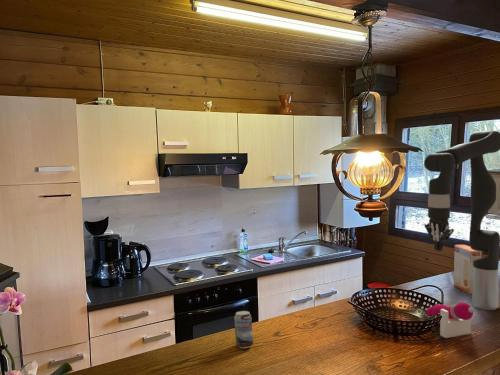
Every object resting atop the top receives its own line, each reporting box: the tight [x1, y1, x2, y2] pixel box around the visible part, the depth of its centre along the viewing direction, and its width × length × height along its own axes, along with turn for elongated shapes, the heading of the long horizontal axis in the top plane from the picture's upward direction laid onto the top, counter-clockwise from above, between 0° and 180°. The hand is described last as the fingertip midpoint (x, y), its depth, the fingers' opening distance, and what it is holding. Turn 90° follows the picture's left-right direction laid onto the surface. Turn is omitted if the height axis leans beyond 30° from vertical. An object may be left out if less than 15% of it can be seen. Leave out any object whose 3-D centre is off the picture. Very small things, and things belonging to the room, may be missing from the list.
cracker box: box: [453, 244, 483, 295], centre depth 184 cm, size 14×6×21 cm, turn 179°
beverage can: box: [233, 310, 254, 349], centre depth 133 cm, size 6×7×12 cm
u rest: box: [439, 309, 472, 339], centre depth 139 cm, size 11×2×10 cm, turn 106°
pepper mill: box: [426, 301, 475, 324], centre depth 141 cm, size 7×7×20 cm
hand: (438, 250), depth 146 cm, fingers closed
